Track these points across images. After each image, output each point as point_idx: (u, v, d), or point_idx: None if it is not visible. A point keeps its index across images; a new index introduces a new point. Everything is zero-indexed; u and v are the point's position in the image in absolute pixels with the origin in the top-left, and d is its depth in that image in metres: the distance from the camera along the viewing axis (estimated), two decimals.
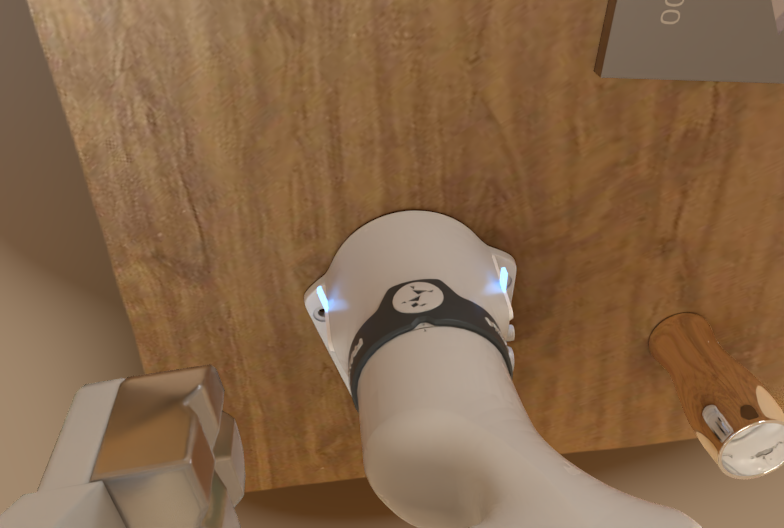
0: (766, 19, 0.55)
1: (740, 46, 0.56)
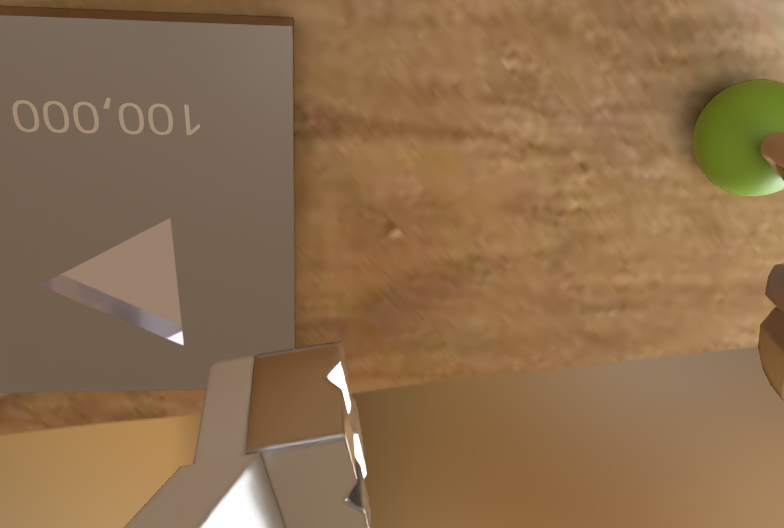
0: (57, 261, 0.36)
1: (8, 237, 0.35)
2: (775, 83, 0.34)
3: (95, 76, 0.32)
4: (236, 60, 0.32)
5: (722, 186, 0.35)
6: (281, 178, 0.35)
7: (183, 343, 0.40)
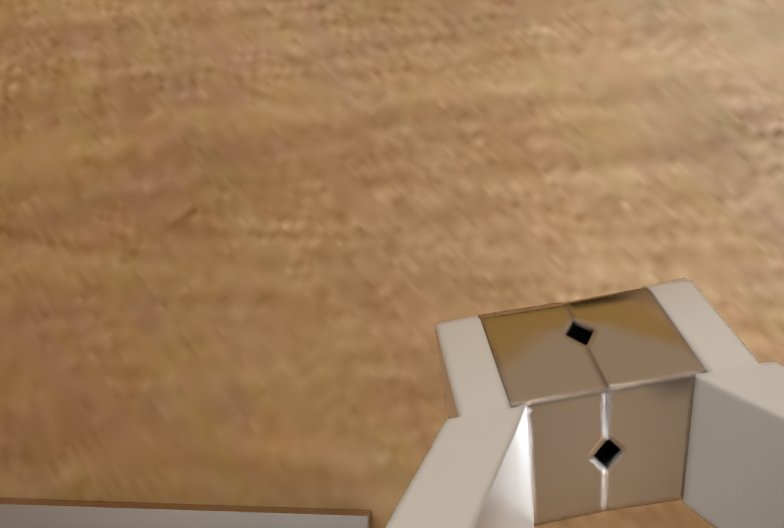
0: None
1: None
2: None
3: None
4: None
5: None
6: None
7: None
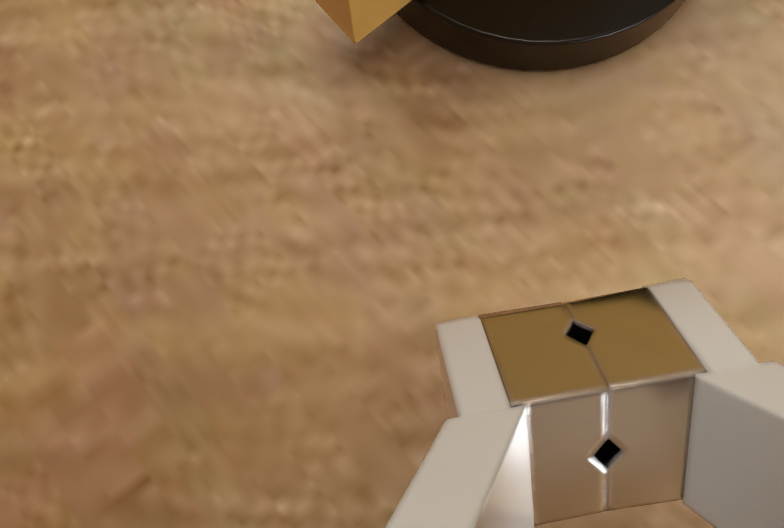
0: None
1: None
2: None
3: None
4: None
5: None
6: None
7: None
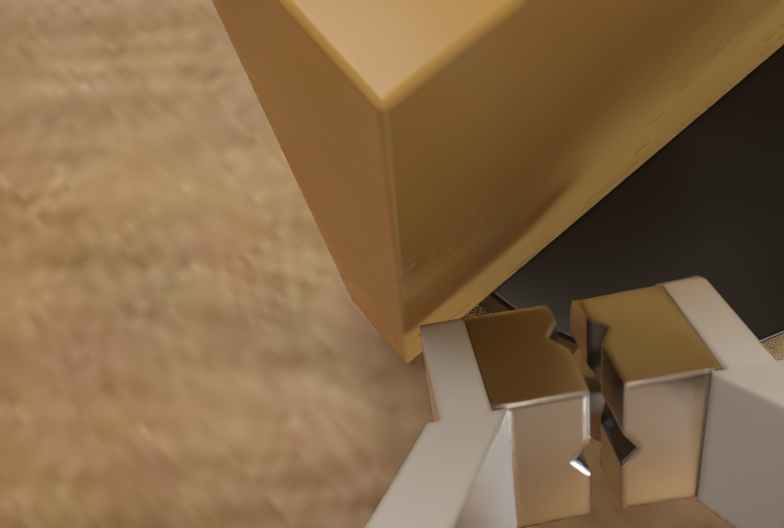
0: None
1: None
2: None
3: None
4: None
5: None
6: None
7: None
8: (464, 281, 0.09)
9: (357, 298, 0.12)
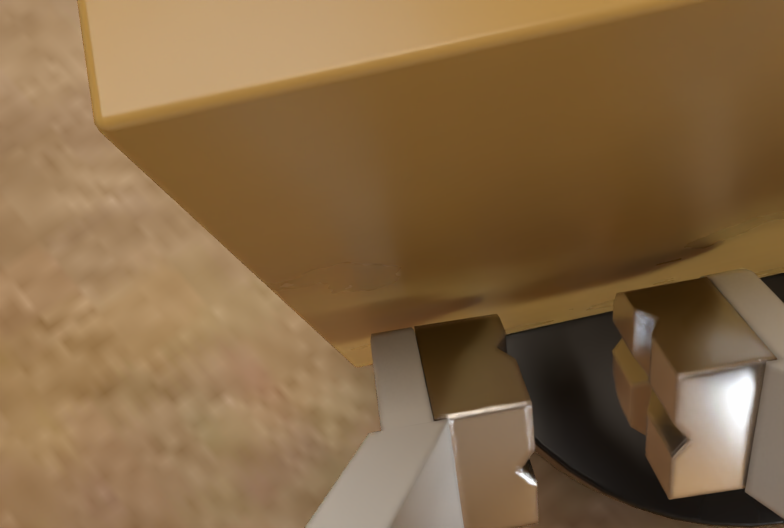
0: None
1: None
2: None
3: None
4: None
5: None
6: None
7: None
8: (404, 321, 0.09)
9: None
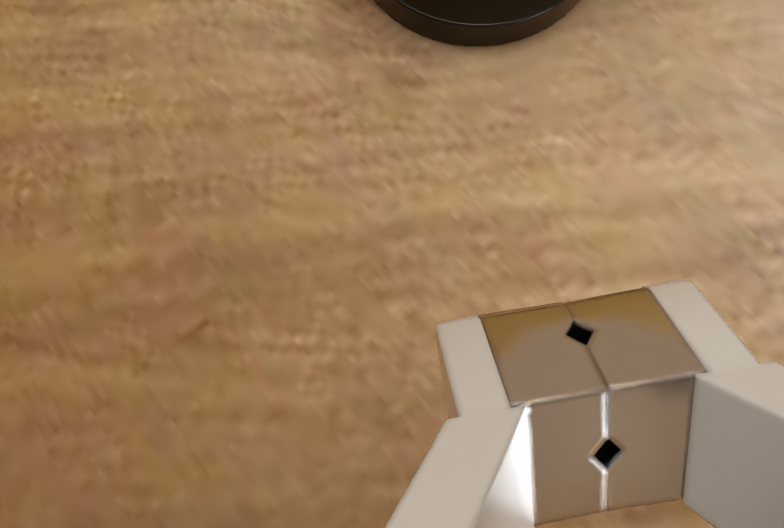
0: None
1: None
2: None
3: None
4: None
5: None
6: None
7: None
8: None
9: None
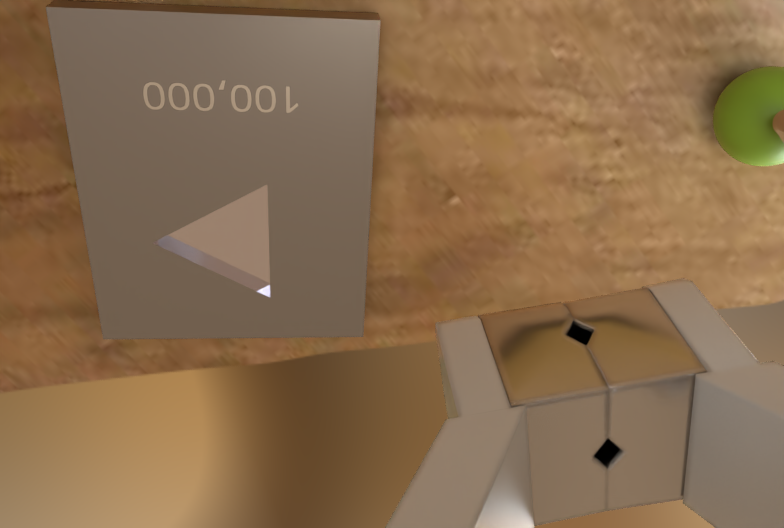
0: (169, 222, 0.42)
1: (130, 200, 0.42)
2: None
3: (214, 62, 0.38)
4: (332, 49, 0.38)
5: (738, 157, 0.41)
6: (363, 150, 0.41)
7: (270, 295, 0.46)
8: None
9: None
